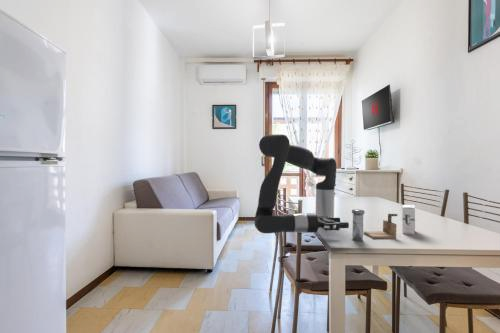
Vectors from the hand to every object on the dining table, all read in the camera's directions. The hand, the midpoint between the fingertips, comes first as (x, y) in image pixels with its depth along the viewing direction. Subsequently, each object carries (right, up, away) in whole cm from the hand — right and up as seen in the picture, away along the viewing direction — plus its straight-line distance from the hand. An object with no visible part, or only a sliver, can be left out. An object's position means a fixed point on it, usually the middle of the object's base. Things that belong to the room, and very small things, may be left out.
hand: (343, 222), depth 115 cm
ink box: (+34, -7, +14) cm, 37 cm away
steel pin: (+6, -7, +1) cm, 9 cm away
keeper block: (+19, -7, +7) cm, 21 cm away
